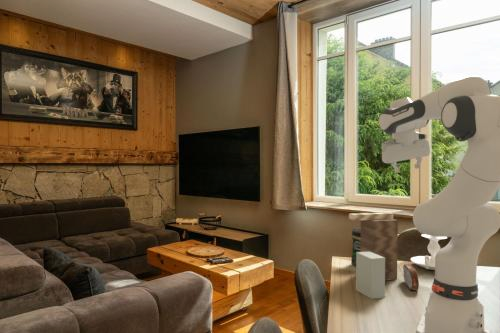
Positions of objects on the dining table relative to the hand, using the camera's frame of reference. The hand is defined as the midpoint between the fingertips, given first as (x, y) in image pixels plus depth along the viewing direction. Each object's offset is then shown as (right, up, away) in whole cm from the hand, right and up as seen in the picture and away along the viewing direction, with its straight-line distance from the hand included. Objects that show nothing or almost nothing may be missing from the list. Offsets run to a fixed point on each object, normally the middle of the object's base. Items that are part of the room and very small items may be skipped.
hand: (407, 170), depth 146 cm
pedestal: (-19, -48, -10) cm, 53 cm away
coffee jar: (-11, -48, +27) cm, 56 cm away
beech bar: (-12, -22, +9) cm, 27 cm away
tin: (0, -48, -2) cm, 49 cm away
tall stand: (-8, -48, +10) cm, 50 cm away
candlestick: (+22, -49, +23) cm, 58 cm away
